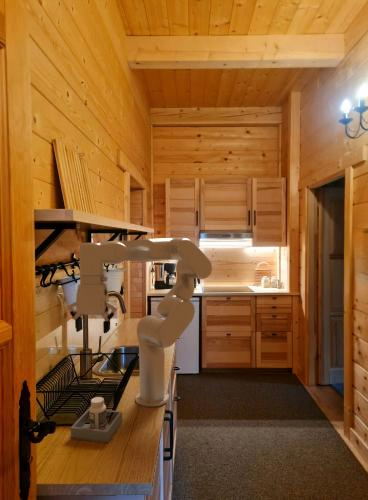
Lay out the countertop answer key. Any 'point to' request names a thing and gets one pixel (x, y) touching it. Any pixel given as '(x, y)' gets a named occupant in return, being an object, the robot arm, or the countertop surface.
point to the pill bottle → (97, 414)
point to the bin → (103, 436)
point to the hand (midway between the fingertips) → (92, 331)
